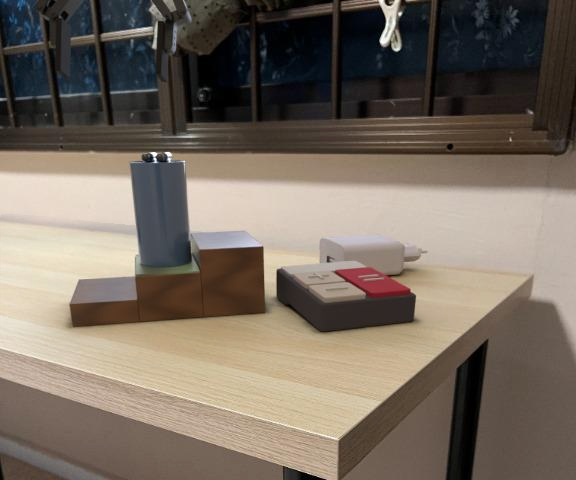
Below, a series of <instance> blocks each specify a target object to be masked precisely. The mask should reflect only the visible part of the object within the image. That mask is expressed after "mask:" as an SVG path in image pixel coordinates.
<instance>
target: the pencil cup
mask: <svg viewBox="0 0 576 480" xmlns="http://www.w3.org/2000/svg"><path fill="white" fill-rule="evenodd" d="M140 158H141V160H135V161H129V162H128V164H129V174H130V184H131V192H132V193H131V194H132V202H133V203H132V205H133V213H134V223H135V233H136V241H137V252H138V254H139V262H140V264H141V265H143V266H147V267H174V266H181V265H186V264H189V263H191V262H192V250H191V235H190V234H191V224H190V213H189V212H190V211H189V209H190V208H189V199H188V198H189V197H188V181H187V168H186V167H187V166H186V161H185V160H181V159H180V160H179V159H173V155H172V152H169V151H165V152H155V151H154V152H153V151H152V152H144V153H142V154H141V156H140Z"/></svg>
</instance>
